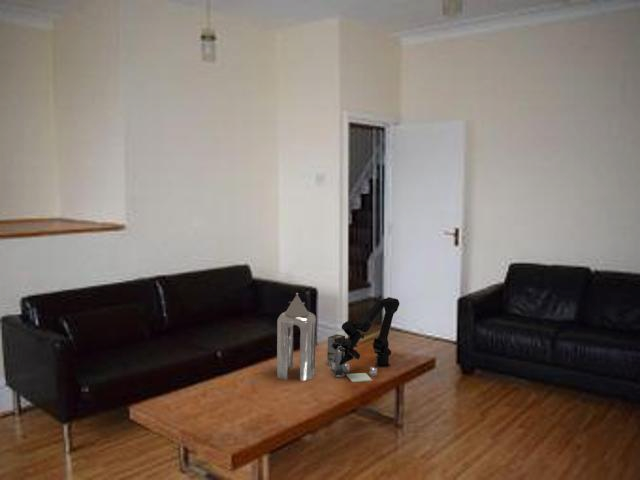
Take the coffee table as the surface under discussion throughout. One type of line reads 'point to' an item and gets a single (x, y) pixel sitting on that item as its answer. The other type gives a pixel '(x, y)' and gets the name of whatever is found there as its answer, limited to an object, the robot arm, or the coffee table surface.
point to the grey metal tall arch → (285, 340)
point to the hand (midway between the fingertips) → (337, 363)
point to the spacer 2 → (346, 367)
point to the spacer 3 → (373, 371)
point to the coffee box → (331, 350)
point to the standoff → (338, 363)
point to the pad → (359, 377)
